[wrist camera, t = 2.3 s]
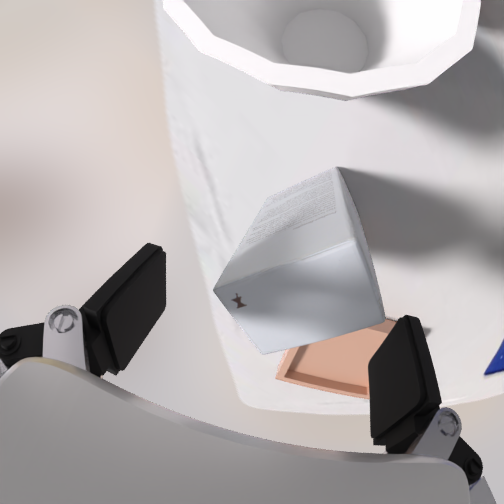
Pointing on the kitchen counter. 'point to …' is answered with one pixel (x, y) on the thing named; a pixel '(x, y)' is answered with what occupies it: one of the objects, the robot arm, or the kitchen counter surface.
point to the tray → (335, 362)
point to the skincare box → (303, 269)
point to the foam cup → (332, 41)
